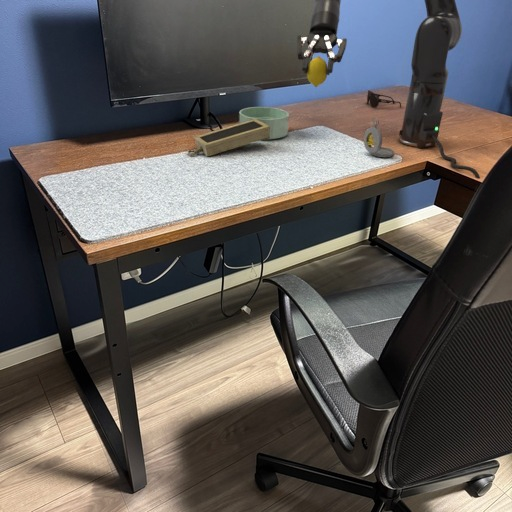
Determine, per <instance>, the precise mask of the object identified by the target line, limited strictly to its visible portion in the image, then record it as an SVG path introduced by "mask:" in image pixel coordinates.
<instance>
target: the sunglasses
mask: <svg viewBox="0 0 512 512" xmlns="http://www.w3.org/2000/svg"><path fill="white" fill-rule="evenodd" d="M380 97H385V98H389V99H383V98H380ZM379 103H382V104H391V103H392V104H396V103H398V104H399V108H402V103H401V102H400V101H395V100H394V98H393V97H391V96H388V95H385V94H379V93H375V92H373V91H371V90H367V96H366V104H367V105H369V104H370V107H371V108H374V109H376V108H378V106H379Z"/></svg>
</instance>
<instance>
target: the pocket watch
mask: <svg viewBox="0 0 512 512" xmlns="http://www.w3.org/2000/svg"><path fill="white" fill-rule="evenodd" d="M374 119H375V120H374ZM371 120H372V122H373V125H374V126H370V127H368V128H367V129H366V130H365V132H364V134H363V145H364V148H365V150H366V152H368V153H369V154H370V155H372V156H374V157H377V158H378V157H379V158H390V157H393V156H394V155H395V151H394V149H392V148H388V147H383V146H382V145H383V135H382V133H381V130H380V129H379V128H378V127H377V126H378V125H379V124H380V121H379V119H378V118H377V117H372V119H371Z"/></svg>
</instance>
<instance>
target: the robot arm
mask: <svg viewBox="0 0 512 512" xmlns="http://www.w3.org/2000/svg"><path fill="white" fill-rule="evenodd" d="M341 2H342V0H315V2H314V7H313V10H312V14H311V20H310V26H309V32H308V34H307V35H306V36H303V37H302V35H297V36H296V45H297V47H296V49H297V59H298V60H299V61H300V60H302V63H301V70H302V72H303V73H304V74H307V69H308V65H309V63H310V61H309V60H310V59H311V58H312V57H313V56H314V55H315V54H325V55H326V57H327V59H328V62H327V76H330V74H332V73H333V71H334V65H335V63H338V64H339V63H341V62H342V59H343V57H344V54H345V52H346V48H347V41H348V39H347V38H342V39H340V38H338V37H337V35H338V28H339V23H340V17H341V16H340V14H341ZM424 4H425V9H426V18H424V19H423V20H422V21H421V23H420V24H419V25H418V28H417V30H416V33H415V38H414V44H413V49H412V50H413V51H412V57H411V66H410V67H411V72H412V73H411V79H410V83H409V90H408V95H407V100H406V105H405V109H404V115H403V120H402V126H401V129H400V130H399V135H398V137H399V139H398V140H399V142H400V143H401V144H404V145H406V146H409V147H413V148H419V149H423V148H430V147H436V145H437V147H438V149H439V153H440V156H441V158H442V159H444V160H446V161H450V166H451V167H452V168H453V169H457V170H463V171H464V170H465V171H467V172H471V174H473V176H474V177H475V178H476V179H478V180H479V179H481V177H480V174H479V172H478V171H477V170H476V169H474V168H473V167H471V166H466V165H459V164H457V159H456V158H455V157H452V156H448V155H447V154H446V153H445V152H444V147H443V145H442V143H441V142H440V140H439V139H438V138H439V134H440V126H441V122H442V120H443V119H442V118H443V111H441V110H442V104H443V100H444V96H445V92H446V88H447V82H448V79H449V70H448V69H447V60H448V54H449V51H452V50H453V49H454V48H456V47H457V46H458V44H459V43H460V41H461V38H462V33H463V26H462V21H461V17H460V14H459V10H458V6H457V3H456V0H424ZM305 44H307V45H308V46H307V49H306V50H305V51H303V47H305ZM336 45H337V48H338V51H337V53H336V54H335V53H334V51H333V50H334V49H333V48H334V47H336ZM478 185H479V184H478ZM478 185H475V189H474V192H475V191H476V189H477V187H478Z"/></svg>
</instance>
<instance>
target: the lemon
mask: <svg viewBox="0 0 512 512" xmlns="http://www.w3.org/2000/svg"><path fill="white" fill-rule="evenodd" d="M327 67H328V63H327V62H326V60H325V59H323V58H322V57H321V56H319V55H318V56H316V57H315V58H313V59H311V60H310V61H309V63H308V69H307V73H306V76H307V80H308V82H309V83H310V84H311V85H313V87H314V88H317V87H319V86H320V85H322V84H323V83H324V82H325V81H326V79H327V76H328V75H327Z"/></svg>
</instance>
